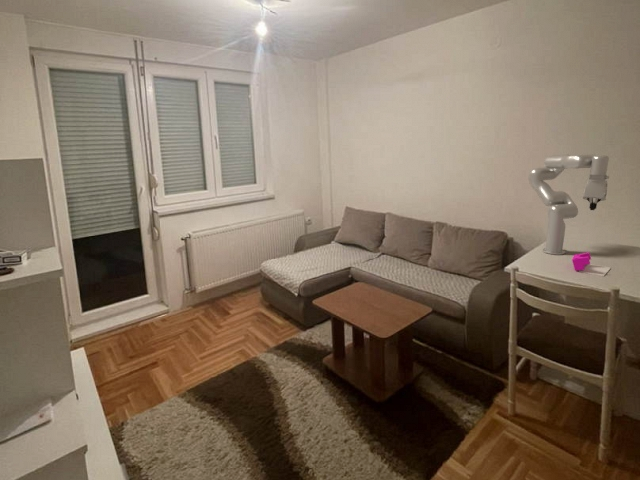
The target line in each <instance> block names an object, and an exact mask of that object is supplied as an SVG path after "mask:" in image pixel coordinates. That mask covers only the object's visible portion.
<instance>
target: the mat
mask: <svg viewBox="0 0 640 480" xmlns="http://www.w3.org/2000/svg"><path fill="white" fill-rule="evenodd" d="M584 266H585V269H584V270H577V271H578V273H584V274H589V275H594V276H601V277H604V276H606V274H607V273H608V272H609V271H610V270H611V269H612V268H611V267H609V266H604V265H597V264H592V263H590V264H587V265H584Z"/></svg>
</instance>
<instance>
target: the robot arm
mask: <svg viewBox="0 0 640 480" xmlns="http://www.w3.org/2000/svg"><path fill="white" fill-rule="evenodd" d="M609 161H610V157H609V156H608V155H601V154H600V155H599V154H598V155H597V154H580V155H579V154H578V155H576V154H575V155H571V154H556V155H555V154H552V155H548V156H547V157H545V158H544V161H543V165H544V167H536V168H533V169H531V170H530V172H529V173H528V182H529V184H530V187H532V189H533V190H534V191H535V192H536V194H537V196H539V198H540V200H541V201H542V203H543V205H544V206H547V207H549V208H548V210H547V217H548V224H547V234H546V242H545V247H544V248H542V252H543V253H545V254H548V255H555V256H556V255H558V256H560V255H565V254H566V250H563V249H564V241H565V233H566V222H565V221H564V220H565V219H569V220H570V219H574V218H576V217H577V216H578V214H579V208H578V206H577V204H575V203H576V202H575V201H574V200H573V199H572V198H571V196H570V195H569V194H568V192H566V191H564V190H563V191H562V190H561V191H560V190H558V191H557V190H554V189H552V187H551V185H550V184H548V183H547V182H545V181H552V180H555V179H557V177H558V176H560V175H561V173H562V172H563V171H564V170H567V169H574V170H575V169H590V171H589V177H588V179H587V182H586V184H585V186H584V191H583V197H582V199H584V200H587V201H588V203H589V209H590V211H596V209H597V207H598V203H599V202H602V201H606V200H607V194H608V179H609V178H610V176H609V175H607V173H608V166H609Z"/></svg>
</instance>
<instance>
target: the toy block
mask: <svg viewBox="0 0 640 480" xmlns="http://www.w3.org/2000/svg"><path fill="white" fill-rule="evenodd" d="M590 260H592V256H591V254H590V252H584V253H583V252H582V253H577V254H573V256H572V259H571V261H572V265H573V268H574V271H579V270H584V269H585V266H584V265H587V264H591V262H590Z"/></svg>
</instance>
